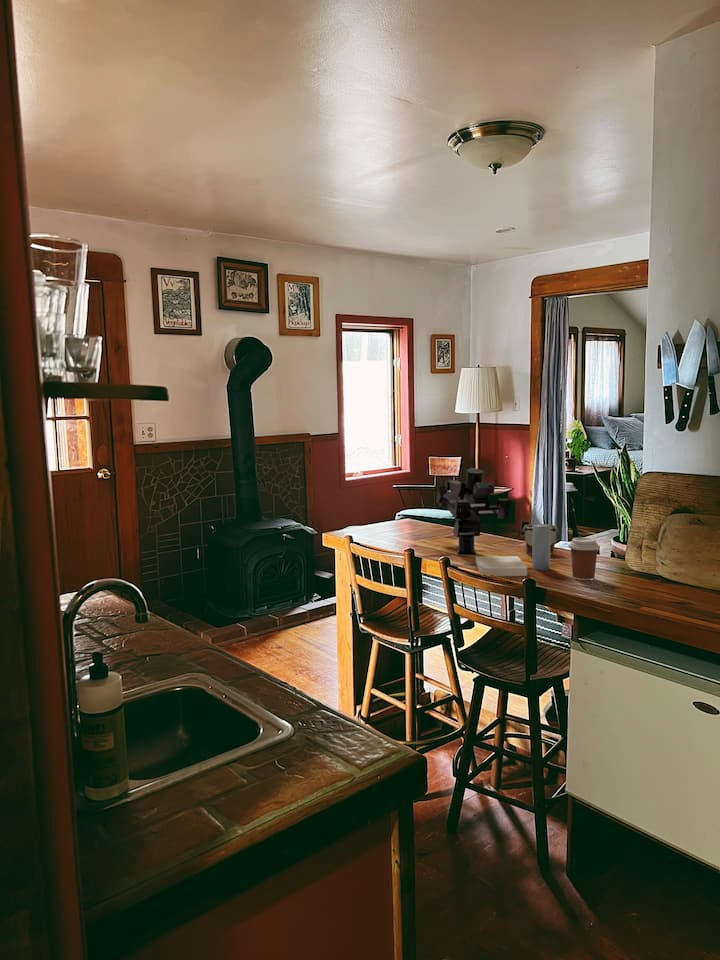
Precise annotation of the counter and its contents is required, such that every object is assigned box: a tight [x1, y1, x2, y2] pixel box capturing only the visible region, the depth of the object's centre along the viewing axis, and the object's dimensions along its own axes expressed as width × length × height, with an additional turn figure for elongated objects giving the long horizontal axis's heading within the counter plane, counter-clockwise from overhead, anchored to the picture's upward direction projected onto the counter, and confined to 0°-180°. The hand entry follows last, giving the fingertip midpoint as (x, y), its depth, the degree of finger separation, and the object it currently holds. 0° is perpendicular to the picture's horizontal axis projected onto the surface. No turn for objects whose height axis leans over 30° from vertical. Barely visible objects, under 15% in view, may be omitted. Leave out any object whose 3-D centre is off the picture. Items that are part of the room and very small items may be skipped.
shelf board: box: [475, 555, 528, 577], centre depth 229 cm, size 18×14×2 cm
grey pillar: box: [531, 523, 551, 571], centre depth 229 cm, size 6×6×14 cm
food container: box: [522, 523, 559, 555], centre depth 255 cm, size 12×6×10 cm, turn 84°
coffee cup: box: [568, 537, 601, 581], centre depth 215 cm, size 9×9×12 cm
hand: (490, 518), depth 231 cm, fingers open, 9 cm apart
